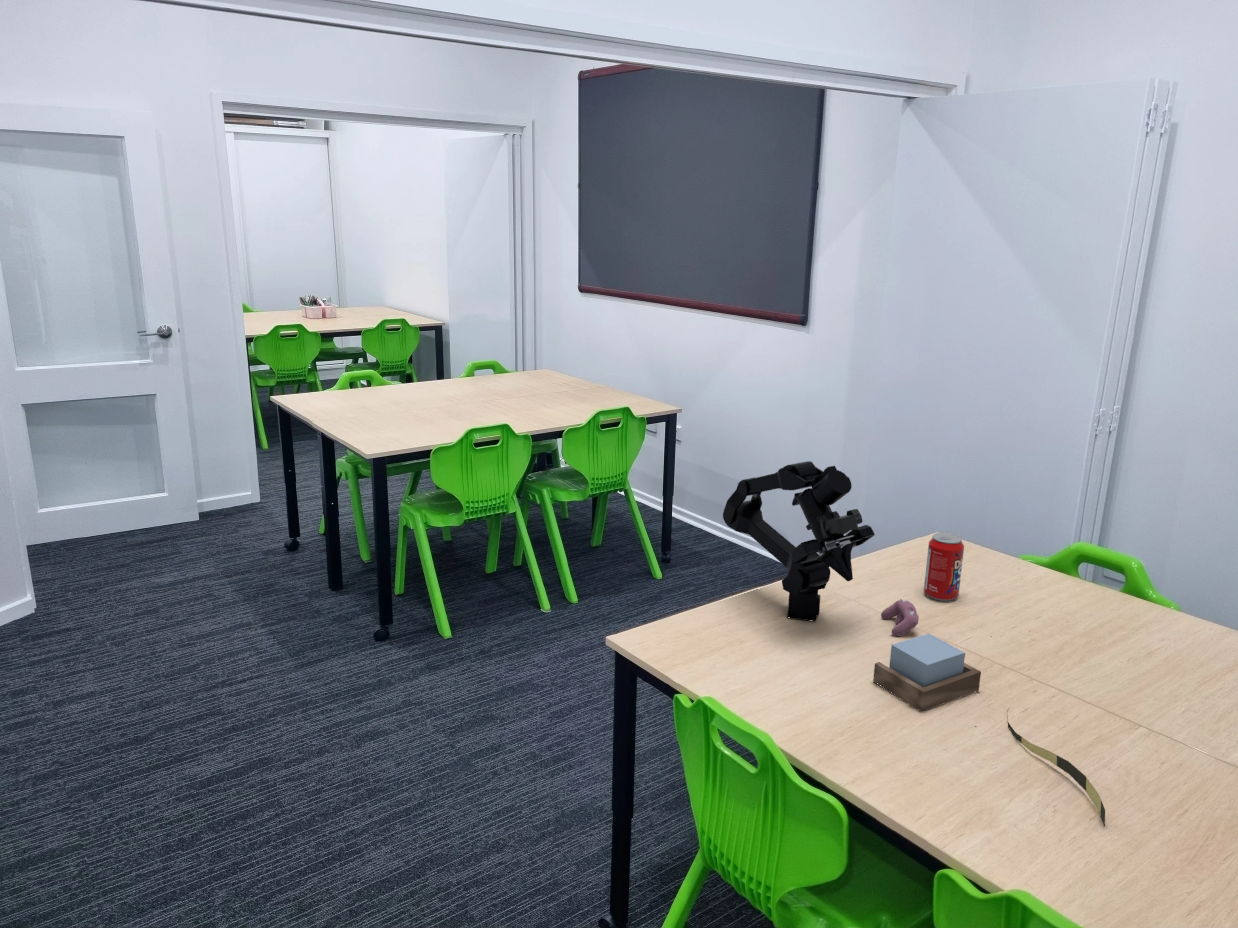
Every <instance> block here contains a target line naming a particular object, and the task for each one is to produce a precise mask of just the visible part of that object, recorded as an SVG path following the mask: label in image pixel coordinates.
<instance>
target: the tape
mask: <svg viewBox="0 0 1238 928" xmlns="http://www.w3.org/2000/svg"><path fill="white" fill-rule="evenodd" d="M1009 709H1010V708H1008V709H1007V710H1006V712H1008V711H1009ZM1006 716H1007V719H1009V718H1008V715H1006ZM1007 723H1008V724H1007V727H1008V729H1009V728H1010V729H1009V731H1010V732H1011V734H1012V733H1013V734H1012V735H1013V737H1014V738H1015V739H1016V741H1018V742H1019V743H1020V744H1021V745H1022V746H1023V747H1025V748H1026V749H1027V750H1029V751H1030V752H1031V753H1033V754H1034V755H1037V756H1039V757H1041V758H1043V759H1044V760H1047V761H1048V762H1050V763H1052V764H1054V765H1055V766H1056V767H1058V768H1059V769H1060V770H1062V771H1064V772H1065V773H1066V774H1068V775H1070V777H1072V779H1073V780H1074V781H1075V782H1076V783H1077V784H1078V785H1079V786H1080V787H1081V788H1082V789H1083V790H1084V791H1085V793H1086V795H1088V797H1089V799H1090V801H1091V802H1092V803H1093V805H1094V807H1095V808H1096V809H1097V811H1098V814H1099V817H1100V818H1101V822H1102V824H1103V827H1105V826H1106V809H1105V806H1104V803H1103V801H1102V798H1101V796H1100V794H1099V792H1098V791H1097V790H1096V788H1095V787H1094V785H1093V784H1092V783H1091V782H1090V780H1089V779H1088V778H1087V775H1085V774H1084V773H1083V772H1082V771H1080V770H1079V769H1078V768H1077V767H1076V766H1074V765H1073V764H1072V763H1071V762H1070V761H1068V760H1066V759H1064V758H1063V757H1061V756H1059V755H1058V754H1055V753H1053V752H1052V751H1050V750H1048V749H1045V748H1044V747H1041V746H1038V745H1036V744H1034V743H1031V742H1030V741H1028V740H1027V739H1025V738H1024V737H1023V736H1021V735H1020V733H1019V734H1018V733H1017V732H1016V731H1015V730H1014V728H1013V727H1012V725H1011V724H1010V723H1009V722H1007Z"/></svg>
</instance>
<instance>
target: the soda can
mask: <svg viewBox="0 0 1238 928" xmlns="http://www.w3.org/2000/svg"><path fill="white" fill-rule="evenodd" d="M964 551H965V545H964V543H963V539H962V536H961V537H960V535H958V534H957V535H956V534H953V533H948V532H938V533H937V532H935V533H934V534H933V535H932V537H931V539H930V540H929V541H928V548H927V557H926V566H925V576H924V583H923V584H924V585H923V592H924V594H926V596H928V597H929V598H931V599H933V600H935V601H938V602H939V601H940V602H941V601H942V602H949V601H952V600H955V599H957V598H958V597H959V595H960V587H961V586H960V585H961V577H962V570H963V569H962V568H963V562H964V561H963V560H964Z"/></svg>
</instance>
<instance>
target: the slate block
mask: <svg viewBox="0 0 1238 928" xmlns="http://www.w3.org/2000/svg"><path fill="white" fill-rule="evenodd" d="M965 657H966V652H964V651H962V650H961V649H959V648H957V647H955V646H954V645H952V644H950V643H947V642H946V641H944V640H942V639H940V638H938V637H936V636H934V635H932V634H931V633H925V634H923V635H919V636H915V637H912V638H909V639H906V640H903V641H900V642H896V643H892V644H891V647H890V656H889V666H888V667H889V668H891V669H892V670H894V671H896V672H897V673H899V674H901V675H903V676H904V677H906V678H908V679H909V680H911V681H913V682H915V683H916V684H918V685H920V686H921V687H923V688H924V687H926V686H929V685H932V684H935V683H938V682H940V681H943V680H946V679H949V678H952V677H954V676H957V675H960V674H963V668H964V663H965V659H966V658H965Z"/></svg>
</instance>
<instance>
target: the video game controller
mask: <svg viewBox="0 0 1238 928" xmlns="http://www.w3.org/2000/svg"><path fill="white" fill-rule="evenodd" d="M880 617H881V619H882V620H890V619H893V618H895V623H896V625H895V626H893V628H892V629H891V635H892V636H893V637H901V636H904V635H905V634H907V633H908V632H910V631H911V630H913V629H914V628H916V627H917V625H918V624H919V620H920V618H919V617H920V616H919V615H918V612H917V608H916V606H915V605H914V604H913V603H912V602H910V601H909V600H906V599H902V598H900V599H899V600H896V601H895V602H894V603H893V604H891V605H889V606H888V607H886V608H885V609H883V611H882V612H881V613H880Z"/></svg>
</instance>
